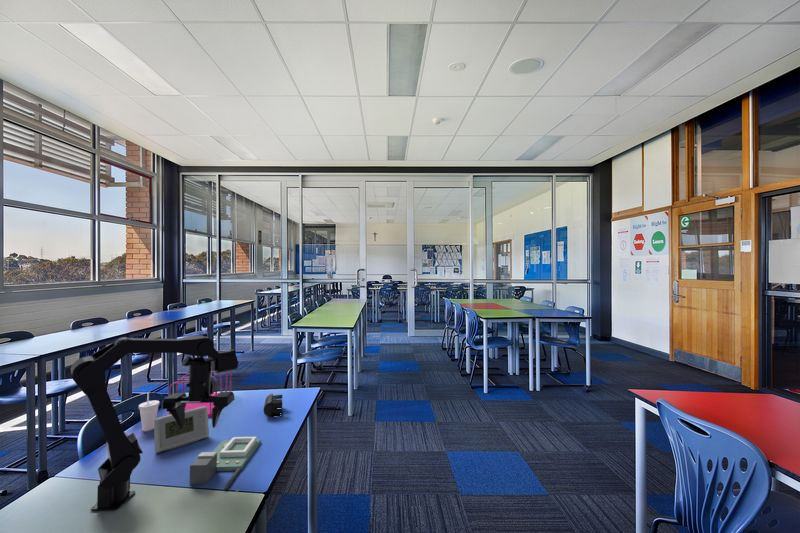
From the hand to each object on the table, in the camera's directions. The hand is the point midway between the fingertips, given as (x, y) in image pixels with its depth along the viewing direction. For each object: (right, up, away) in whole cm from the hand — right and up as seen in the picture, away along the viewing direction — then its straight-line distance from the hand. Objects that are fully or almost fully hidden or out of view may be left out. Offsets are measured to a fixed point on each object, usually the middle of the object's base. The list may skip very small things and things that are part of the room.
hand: (198, 427), depth 98 cm
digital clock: (-15, -13, +14) cm, 24 cm away
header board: (+7, -13, +7) cm, 16 cm away
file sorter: (-27, -14, +45) cm, 54 cm away
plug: (+4, -13, -5) cm, 14 cm away
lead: (+13, -13, -4) cm, 19 cm away
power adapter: (+8, -14, +39) cm, 42 cm away
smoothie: (-35, -13, +24) cm, 44 cm away
